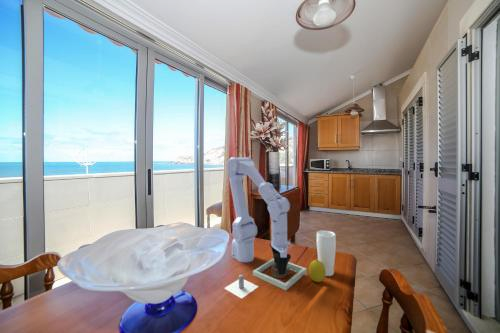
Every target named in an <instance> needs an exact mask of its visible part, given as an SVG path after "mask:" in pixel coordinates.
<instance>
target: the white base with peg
mask: <svg viewBox="0 0 500 333" xmlns="http://www.w3.org/2000/svg"><path fill="white" fill-rule="evenodd" d="M244 276H245V275H244V274H239V275H238V279H237V280H235V281H233V282H232V283H230V284H229V285H227V286H225V287H224V288H223V289H224V290H225V291H227V292H229V293H231V294H233V295H235V296H237V297H238V298H239V299H243V298H245V297H247V296H248V295H249V294H250V293H252V292H254V291H255V290H256V289H258V288H259V285H256V284H254V283H253V282H250V281H248V280H246V279H244Z"/></svg>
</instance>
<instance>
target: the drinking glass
mask: <svg viewBox="0 0 500 333" xmlns="http://www.w3.org/2000/svg"><path fill="white" fill-rule="evenodd" d="M315 240H316V250H317V251H316V252H317V260H319V261H321V262H322V263H323V265H324V267H325V271H326V275H325V277H332V276H333V275H334V274H335V259H336V250H337V249H336V248H337V247H336V245H337V244H336V243H337V236H336V233H335V232H333V231H331V230H318V231H316V239H315Z"/></svg>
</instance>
